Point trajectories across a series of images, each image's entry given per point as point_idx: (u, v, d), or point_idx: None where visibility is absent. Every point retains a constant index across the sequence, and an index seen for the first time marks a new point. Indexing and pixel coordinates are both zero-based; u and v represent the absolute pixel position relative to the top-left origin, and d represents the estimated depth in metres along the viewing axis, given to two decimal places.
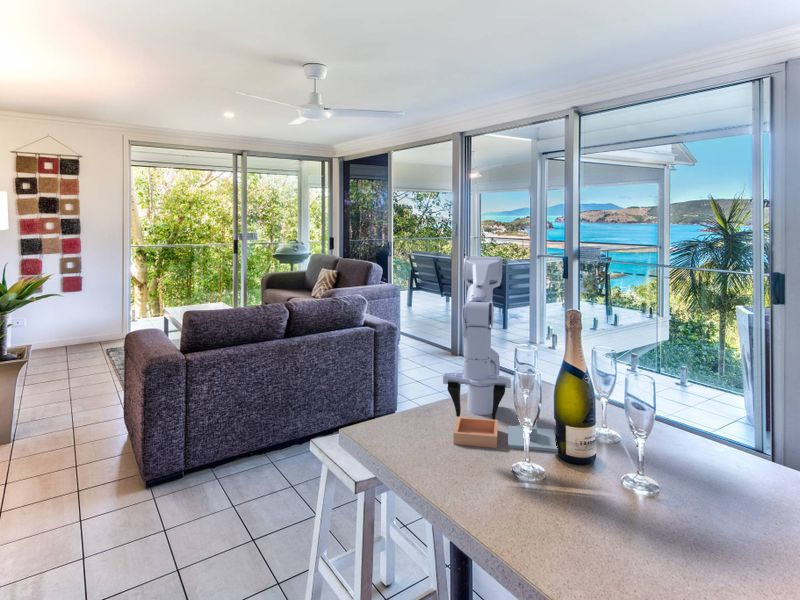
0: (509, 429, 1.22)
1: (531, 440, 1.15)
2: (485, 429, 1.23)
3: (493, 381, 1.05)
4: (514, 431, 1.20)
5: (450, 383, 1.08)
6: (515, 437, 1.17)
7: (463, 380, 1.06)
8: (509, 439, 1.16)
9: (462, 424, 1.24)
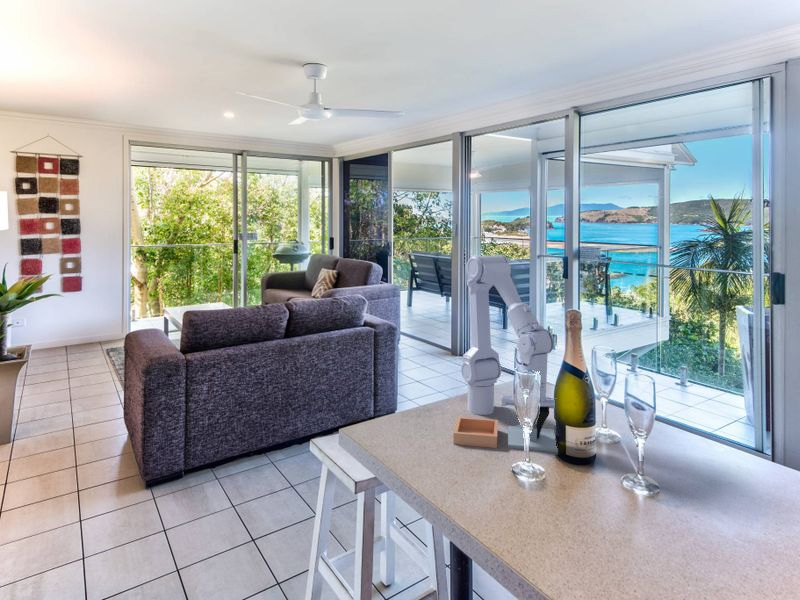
0: (509, 429, 1.22)
1: (531, 440, 1.15)
2: (485, 429, 1.23)
3: (549, 404, 1.13)
4: (514, 431, 1.20)
5: None
6: (515, 437, 1.17)
7: None
8: (509, 439, 1.16)
9: (462, 424, 1.24)
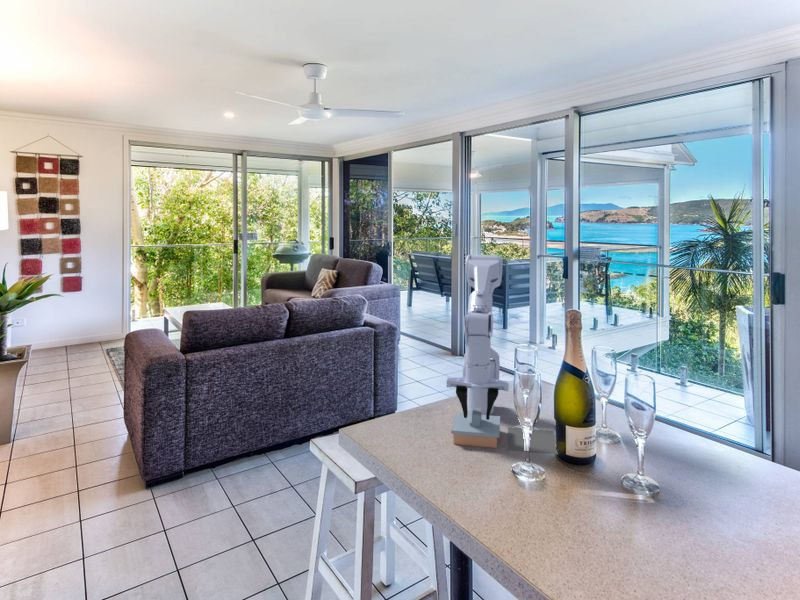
0: (456, 416, 1.23)
1: (475, 426, 1.16)
2: None
3: (492, 385, 1.15)
4: (460, 418, 1.22)
5: (458, 387, 1.18)
6: (460, 423, 1.18)
7: (465, 384, 1.16)
8: (454, 425, 1.17)
9: None
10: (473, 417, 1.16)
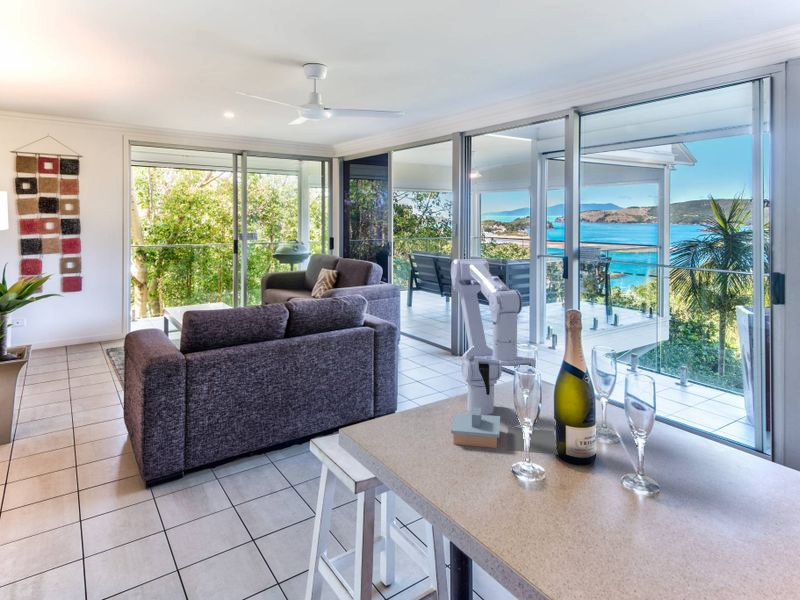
0: (456, 416, 1.23)
1: (475, 426, 1.16)
2: None
3: (520, 361, 1.17)
4: (460, 418, 1.22)
5: (481, 364, 1.20)
6: (460, 423, 1.18)
7: (493, 361, 1.18)
8: (454, 425, 1.17)
9: None
10: (473, 417, 1.16)
